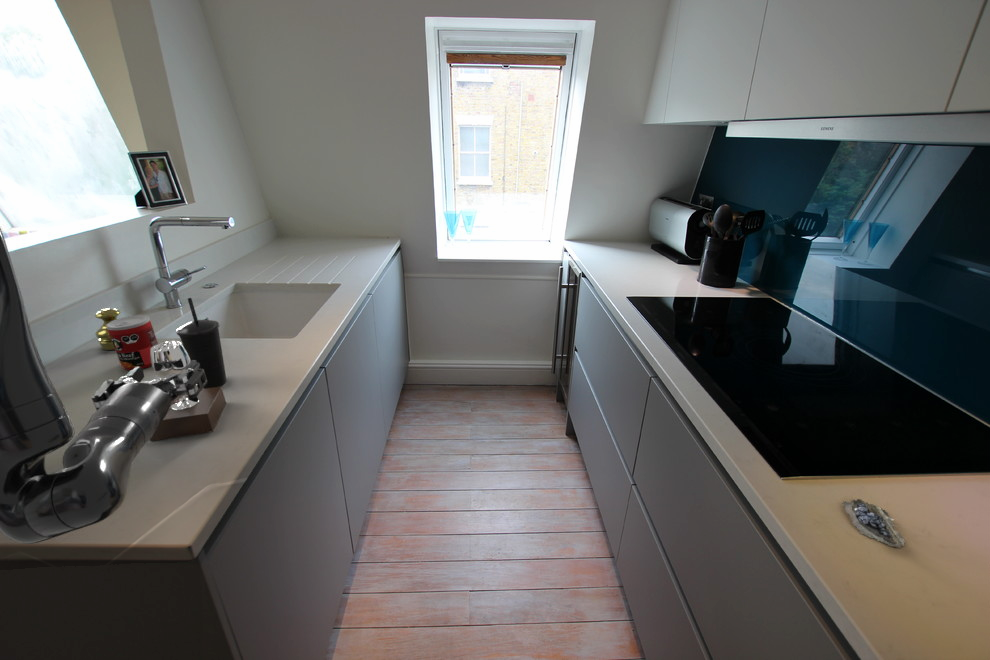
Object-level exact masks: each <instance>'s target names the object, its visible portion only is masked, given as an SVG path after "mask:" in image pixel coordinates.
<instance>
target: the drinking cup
mask: <svg viewBox="0 0 990 660" xmlns="http://www.w3.org/2000/svg"><path fill="white" fill-rule="evenodd" d="M187 303H188V305H189V308H190V312H191V316H192V319H193V320H191V321H188V322H187V323H185V324H182V325H181V326H179V327H178V328H176V331H175V333H176V335H177V336H178V337H179V338H180V342H181V343H182V344H183V345H184V347H185V348H186V350H187V352H188V354H189V356H190V359H191V361H193V360H196V361H197V363H198V362H199V364H200V367H201V369H204V372H205V375H206V379H207V383H206V385H205V386H204V387H203V389H206V388H214V387H222V386H223V385H225V384H226V383H227V375H226V368H225V362H224V355H223V348H222V343H221V336H220V330H219V328H220V323H219V322H218V321H217V320H214V319H213V320H212V319H198V316H197V312H196V309H195V306H194V302H193V298H192V297H188V298H187Z"/></svg>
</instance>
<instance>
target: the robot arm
mask: <svg viewBox="0 0 990 660" xmlns="http://www.w3.org/2000/svg"><path fill="white" fill-rule="evenodd" d="M21 291H22V290H21V288H20V284H19V281H18V279H17V275H16V272H15V269H14V265H13V261H12V259H11V256H10V252H9V248H8V244H7V243H6V239H5V237H4V234H3V231H2V228H1V227H0V532H1V533H2V534H3V535H4V536H5V537H7V538H8V539H9V540H12V541H13V542H16V543H19V544H25V545H33V544H37V543H38V544H39V543H40V542H41V543H42V542H44V541H48V540H51V539H54V538H56V537H60V536H63V535H65V534H68V533H71V532H72V533H73V532H75V531H77V530H81V529H84V528H87V527H89V526H92V525H95V524H98V523H100V522H103V521H104V520H106V519H108V518H109V517H110V516H112V515H113V514H114V513H115V512H116V511H117V510H118V509H120V507H122V505H123V503H124V502H125V499H126V498H127V494H128V489H129V488H128V487H129V480H130V476H131V471H132V464H133V462H134V461H135V459H136V458H137V456H138V455H139V454H140V452H141V450H142V449H143V447H144V446H145V445H146V444H147V443H148V442H149V441H150V438H151V437H152V436H153V434H154V433H155V431H156V429H157V428H158V426H159V425H160V423H161V422H162V420H163V419H164V417H165V416H166V414H167V413H168V410H169V407H170V404H171V402H172V401H173V400H174V399H176V398H177V397H178V396H182V395H188V398H189V399H194V398H196V397H197V396H198V395H199V393H200V392H201V390H202V389H204V388H203V387H204V386H205V385H206V383H207V379H206V375H205V372H204V369H201V367H200V364H199V362H198V363H197V361H196V360H193V361H191V362H190V363H189V365H188V366H187V367H186V369H185V370H184V371H182V372H180V373H172V374H169V375H167V376H165V377H163V378H156V379H153V380H144V378H145V373H144V370H143V369H142V368H141V367H135V368H134V369H133V370H129V372H127V374H126V375H125V376H121V377H120V378H118V380H114V379H108V380H105V381H104V382H103V383H102V384H101V385H100V386H99V388H98V389H97V390H96V391H95V392H94V393H93V394H92V396H91V397H90V399H91V400H92V403H93V405H94V408H95V410H96V411H95V412H94V413H93V414H92V416H91V417H90V418H89V420H88V422H87V424H86V425H85V426H84V428H82V430H80V432H79V433H77V435H76V436H75V433H76V431H75V426H74V423H73V421H72V419H71V416H70V415H69V413H68V412H67V409H66V407H65V405H64V403H63V402H62V400H61V398H60V396H59V394H58V392H57V389H56V388H55V386H54V384H53V382H52V380H51V378H50V377H49V375H48V372H47V370H46V368H45V366H44V364H43V362H42V358H41V356H40V353H39V350H38V347H37V345H36V342H35V338H34V335H33V332H32V328H31V325H30V321H29V317H28V314H27V310H26V306H25V302H24V298H23V295H22V292H21ZM185 377H186V379H187V380H185V381H184V380H183V379H184V378H185ZM172 381H173V382H172ZM173 383H174V384H173ZM66 445H68V446H67V447H66V448H65V450H64V452H63V455H62V462H61V463H62V466H63V468H62V469H60V470H59V469H58V470H56V471H52V472H49V473H48V472H47V470H46V456H47V455H49V454H51V453H53V452H55V451H57V450H58V449H61V448H62V447H64V446H66Z"/></svg>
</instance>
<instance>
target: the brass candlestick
mask: <svg viewBox="0 0 990 660" xmlns="http://www.w3.org/2000/svg"><path fill="white" fill-rule="evenodd" d="M120 314H121V310H120V309H118V308H117V309H116V308H111V307H105V308H102V309H101V310H99V311H97V312H96V313H95V314H94V317H95V318H96V319H99V320H101V321H102V322H103V323H102V325H101V326H100V327H99V328H98V329H97V330H96V331H95V336H96V338H98V344H99V345H100V349H101V350H105V351H113V350H114V351H115V348H114V345H113V343H112V340H111V338H110V335H109V333H108V330H107V324H108V323H110V322H111V321H114V320H116V319H118V316H119V315H120Z"/></svg>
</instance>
